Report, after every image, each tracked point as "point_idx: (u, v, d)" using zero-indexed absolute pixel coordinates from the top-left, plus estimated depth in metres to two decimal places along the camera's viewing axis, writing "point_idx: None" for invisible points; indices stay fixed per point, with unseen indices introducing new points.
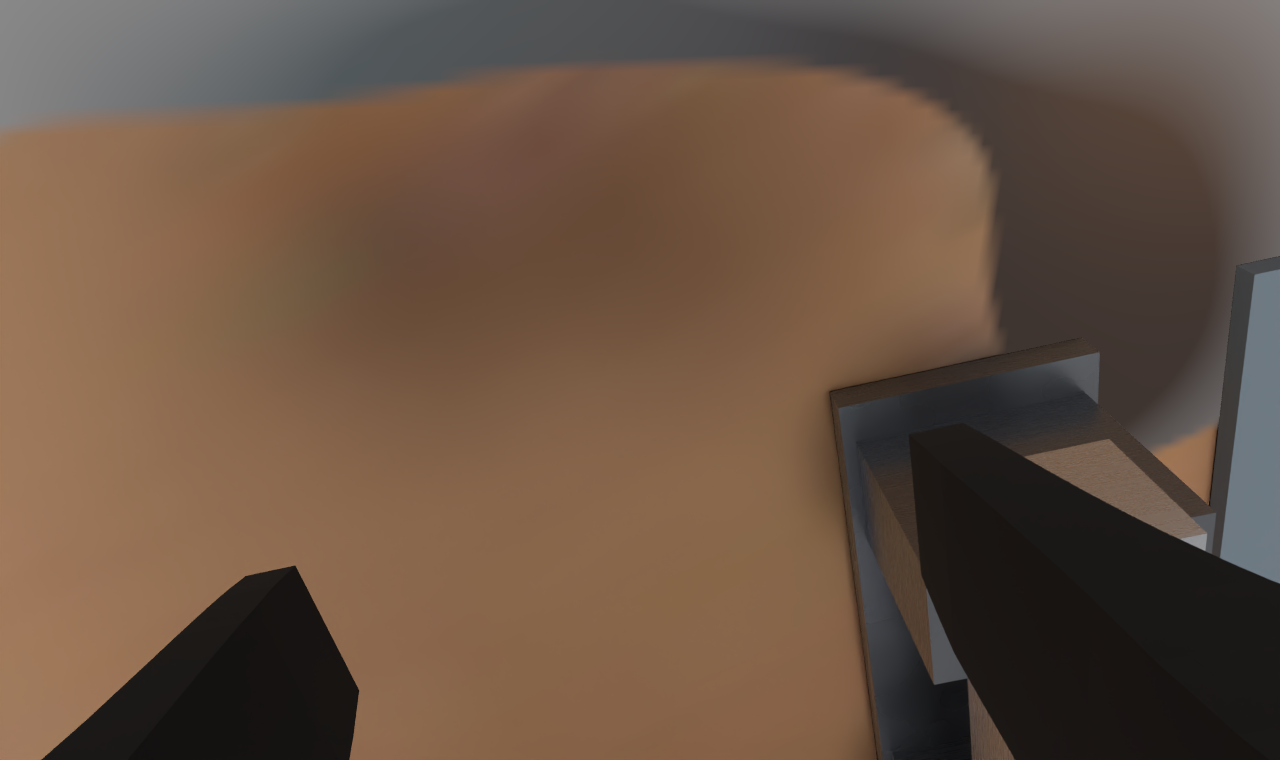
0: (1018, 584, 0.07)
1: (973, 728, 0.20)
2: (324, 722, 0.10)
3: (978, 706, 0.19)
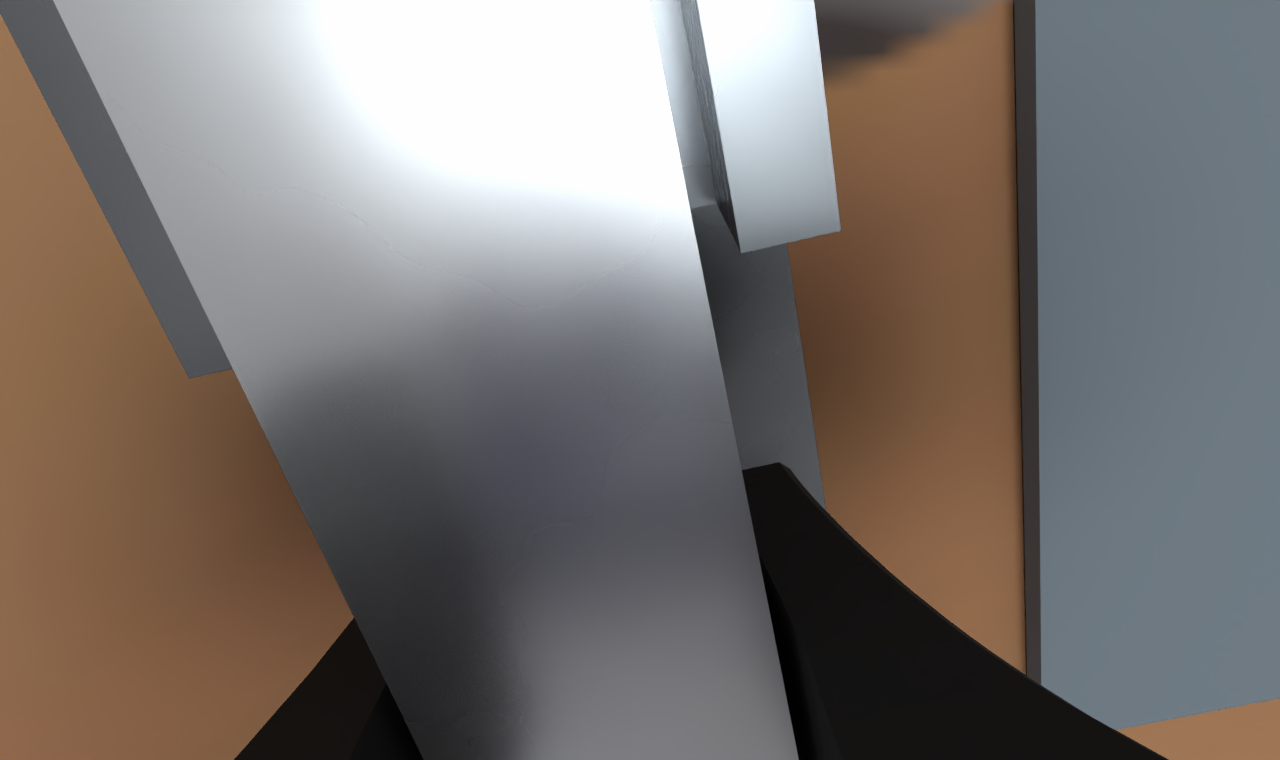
0: (782, 632, 0.07)
1: None
2: None
3: None
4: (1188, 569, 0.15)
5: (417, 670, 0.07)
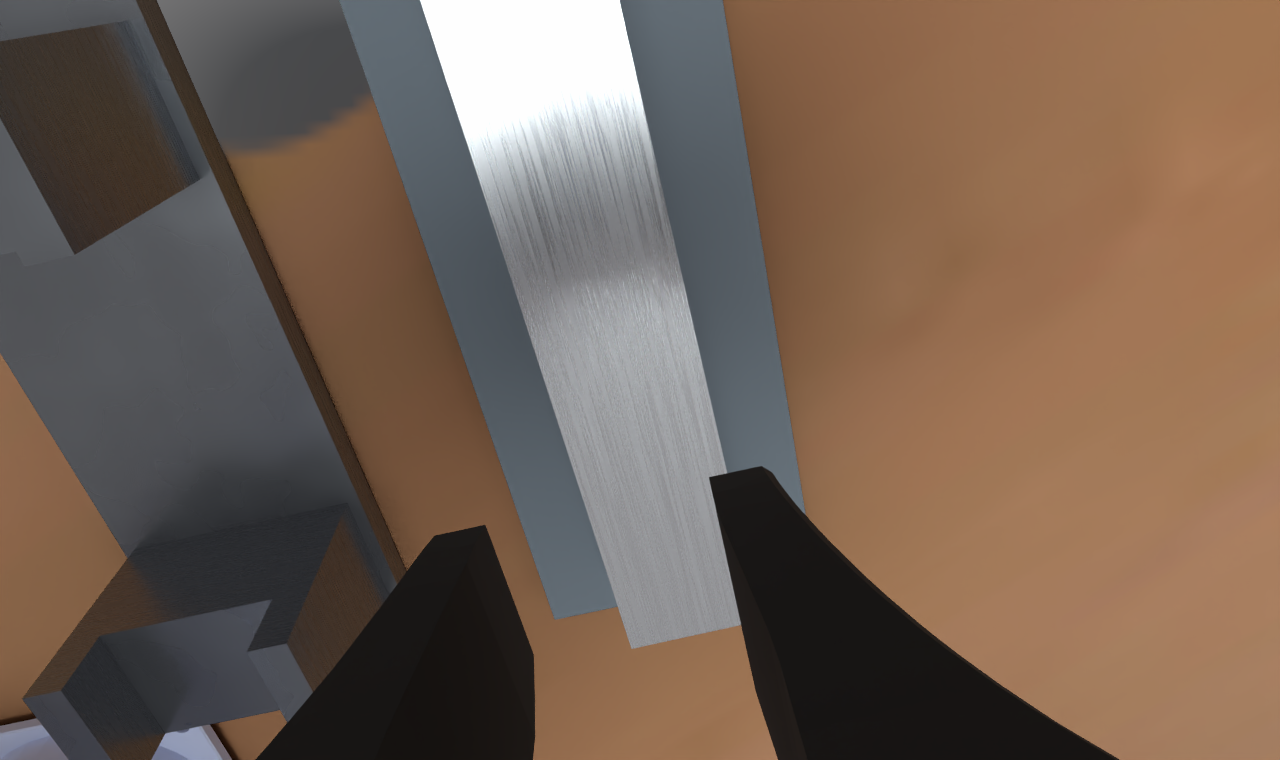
0: (759, 636, 0.07)
1: (529, 291, 0.16)
2: (516, 683, 0.10)
3: (530, 227, 0.15)
4: None
5: None
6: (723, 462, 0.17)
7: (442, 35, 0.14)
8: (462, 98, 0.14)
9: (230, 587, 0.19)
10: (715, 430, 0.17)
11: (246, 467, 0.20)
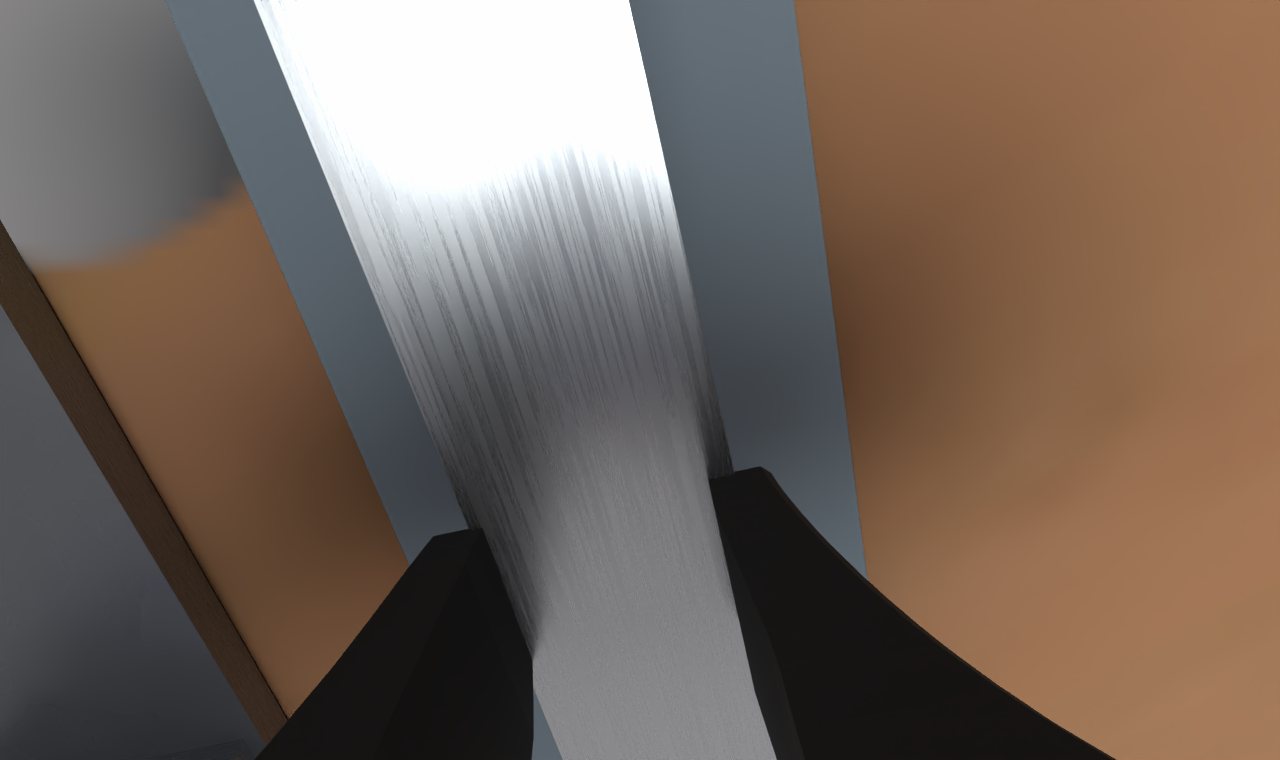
0: (757, 637, 0.07)
1: (487, 517, 0.10)
2: (515, 683, 0.10)
3: (486, 422, 0.09)
4: None
5: None
6: None
7: (318, 112, 0.08)
8: (360, 218, 0.08)
9: None
10: None
11: (93, 698, 0.14)
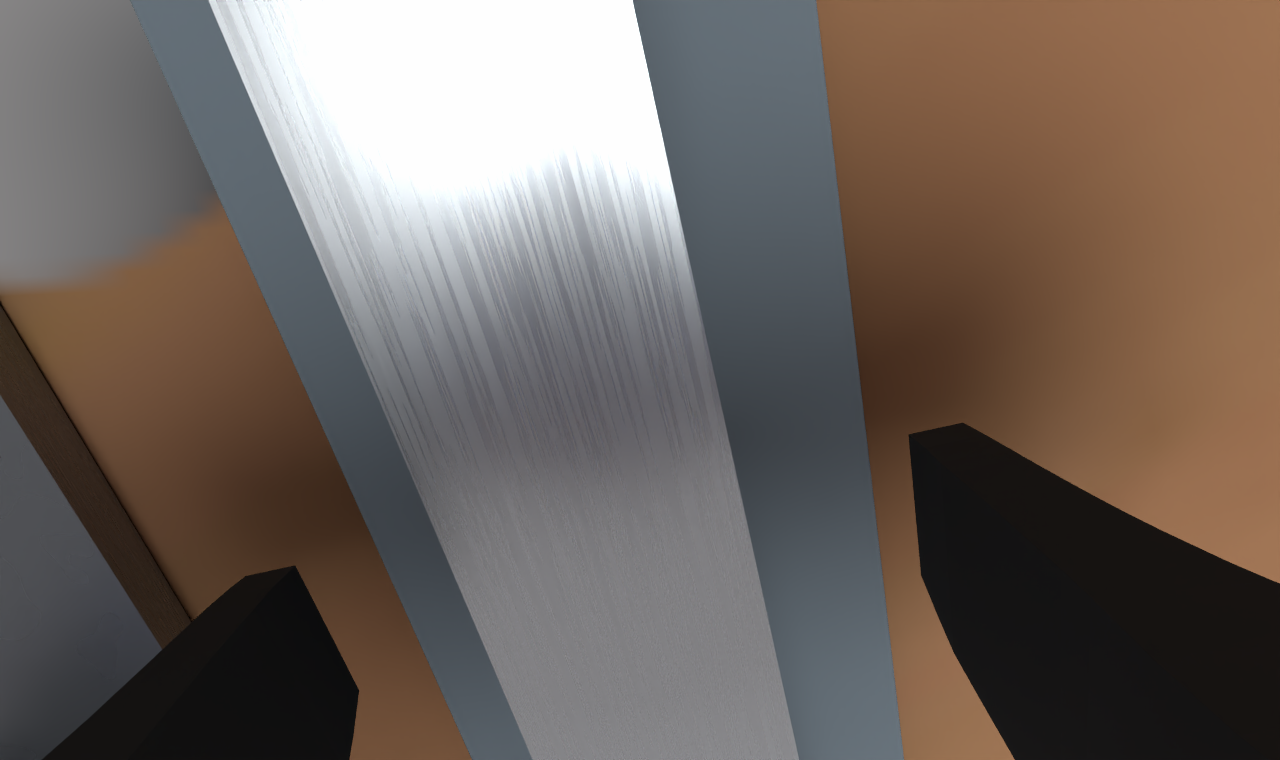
0: (1018, 584, 0.07)
1: (475, 567, 0.09)
2: (324, 722, 0.10)
3: (474, 466, 0.08)
4: None
5: None
6: None
7: (284, 127, 0.07)
8: (333, 245, 0.07)
9: None
10: (795, 758, 0.10)
11: None
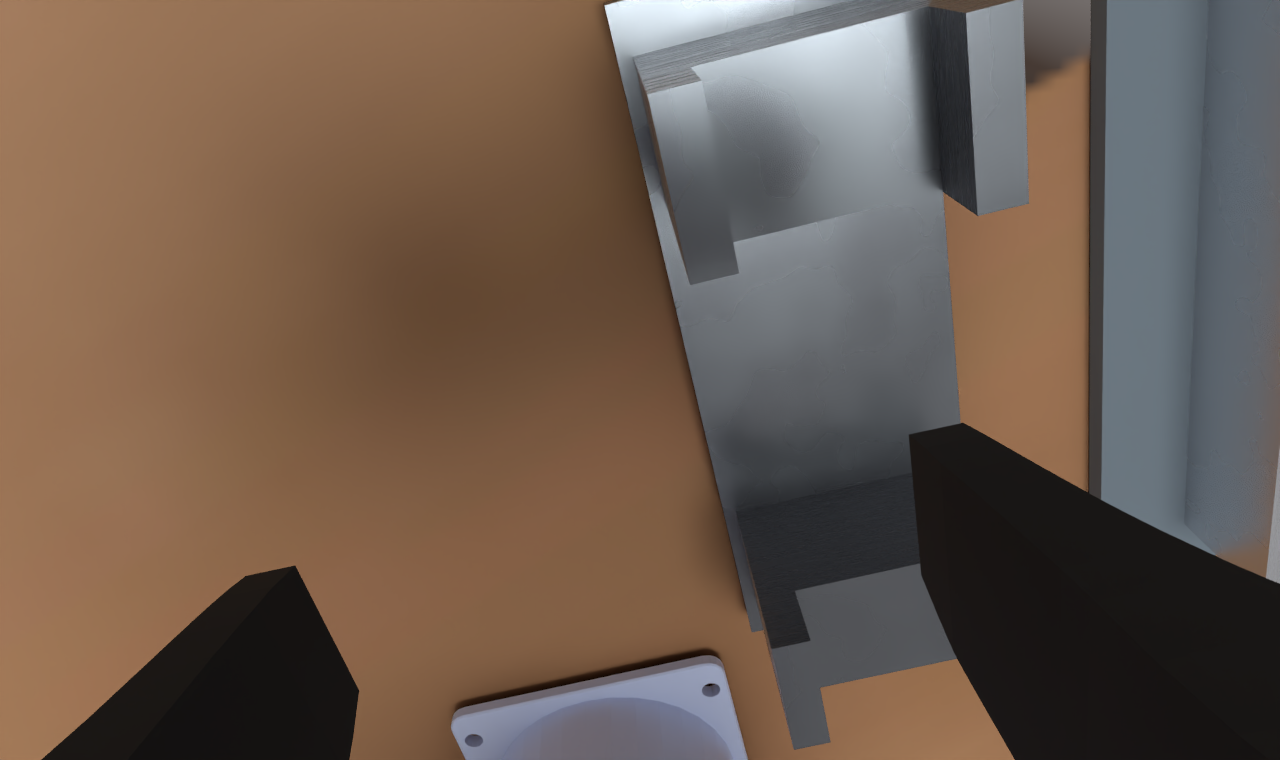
0: (1018, 584, 0.07)
1: None
2: (324, 722, 0.10)
3: None
4: None
5: None
6: None
7: None
8: None
9: (902, 543, 0.19)
10: None
11: (868, 429, 0.21)
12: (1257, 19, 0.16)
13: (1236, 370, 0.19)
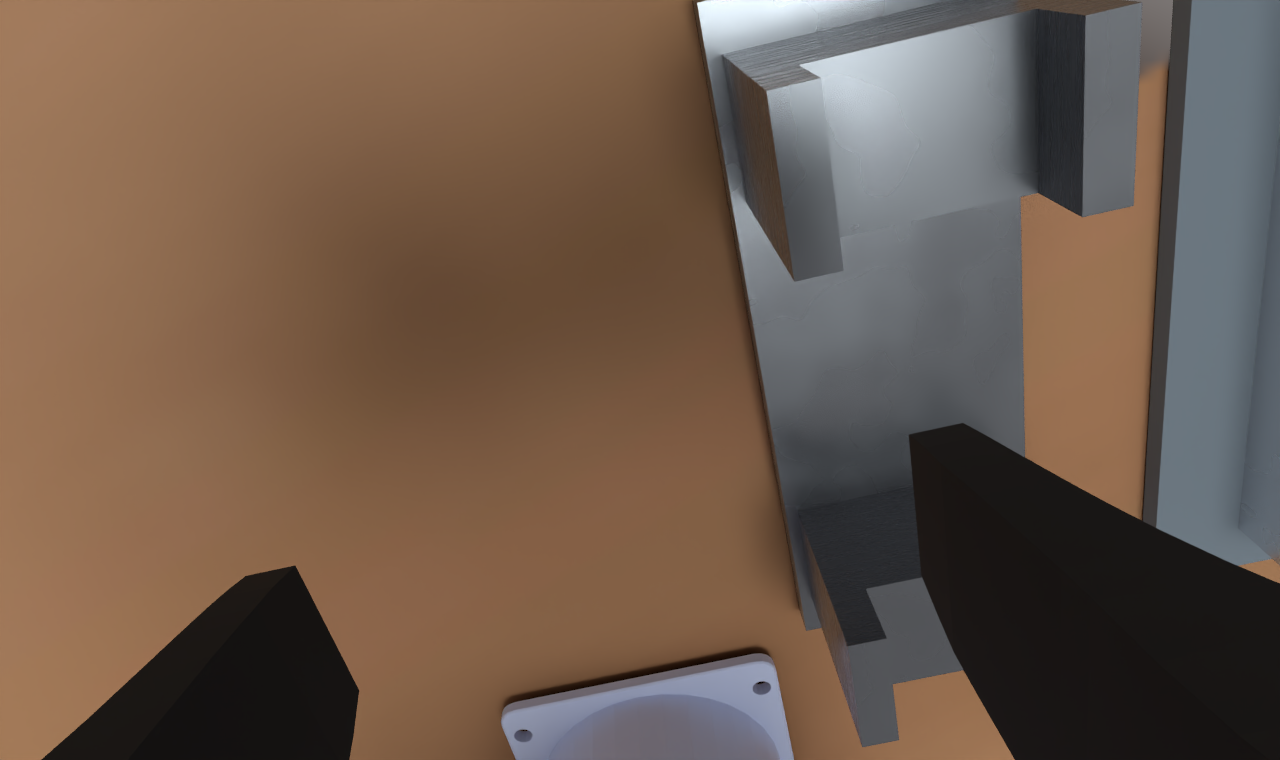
0: (1018, 584, 0.07)
1: None
2: (324, 722, 0.10)
3: None
4: None
5: None
6: None
7: None
8: None
9: None
10: None
11: None
12: None
13: None
